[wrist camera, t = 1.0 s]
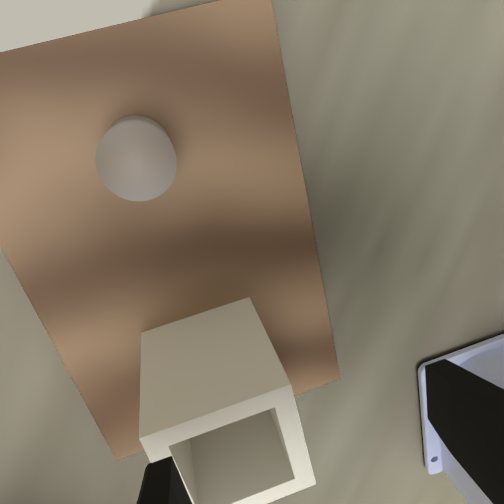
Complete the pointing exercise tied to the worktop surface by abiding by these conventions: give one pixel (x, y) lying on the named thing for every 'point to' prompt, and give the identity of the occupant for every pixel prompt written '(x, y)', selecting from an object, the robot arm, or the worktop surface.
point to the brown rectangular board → (158, 196)
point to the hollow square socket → (222, 408)
